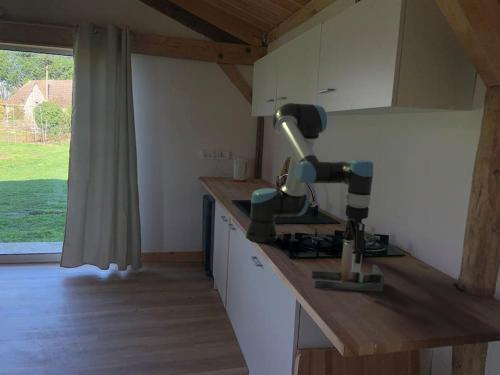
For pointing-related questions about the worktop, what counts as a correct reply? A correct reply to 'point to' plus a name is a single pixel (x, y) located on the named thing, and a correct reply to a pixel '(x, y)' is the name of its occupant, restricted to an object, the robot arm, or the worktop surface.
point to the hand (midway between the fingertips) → (351, 264)
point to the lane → (375, 277)
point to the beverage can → (348, 263)
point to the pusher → (362, 277)
